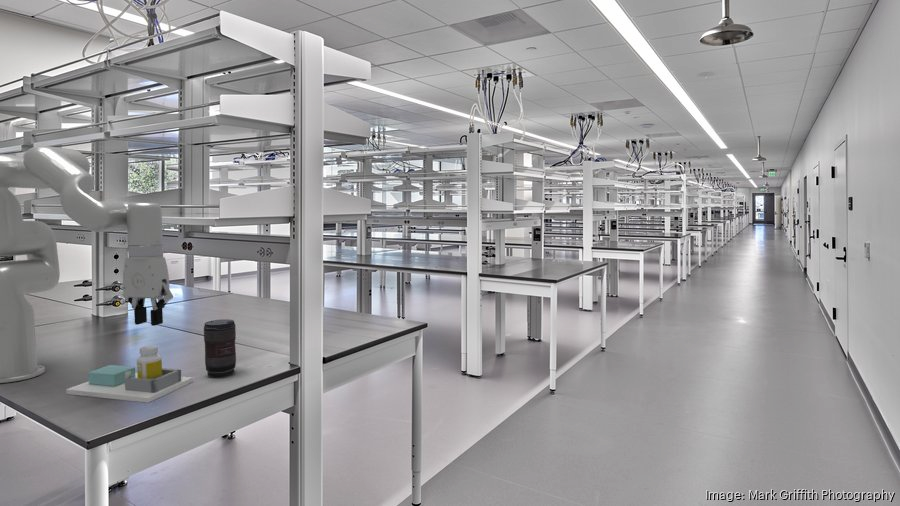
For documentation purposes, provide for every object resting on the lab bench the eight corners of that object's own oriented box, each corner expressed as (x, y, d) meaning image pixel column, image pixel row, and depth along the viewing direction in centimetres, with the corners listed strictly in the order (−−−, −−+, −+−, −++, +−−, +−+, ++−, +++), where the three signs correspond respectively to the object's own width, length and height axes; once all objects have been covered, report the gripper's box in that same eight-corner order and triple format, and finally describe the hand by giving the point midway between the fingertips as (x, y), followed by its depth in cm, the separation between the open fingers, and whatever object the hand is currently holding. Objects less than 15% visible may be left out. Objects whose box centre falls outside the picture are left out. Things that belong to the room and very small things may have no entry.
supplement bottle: (166, 381, 131) (165, 344, 130) (155, 388, 126) (153, 350, 125) (145, 381, 131) (144, 344, 130) (133, 388, 126) (131, 350, 125)
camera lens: (240, 368, 146) (238, 318, 144) (232, 378, 138) (230, 324, 136) (210, 370, 144) (208, 318, 143) (201, 379, 136) (199, 325, 135)
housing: (88, 383, 129) (88, 372, 128) (110, 375, 135) (109, 364, 135) (114, 386, 127) (114, 374, 127) (135, 378, 133) (135, 367, 133)
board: (66, 393, 125) (65, 371, 124) (118, 374, 140) (117, 354, 139) (148, 402, 120) (147, 379, 119) (192, 381, 134) (192, 361, 134)
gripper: (104, 252, 124) (108, 325, 125) (163, 254, 120) (166, 329, 122) (130, 250, 131) (133, 319, 132) (185, 251, 127) (188, 322, 129)
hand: (148, 323), depth 127 cm, fingers open, 4 cm apart
